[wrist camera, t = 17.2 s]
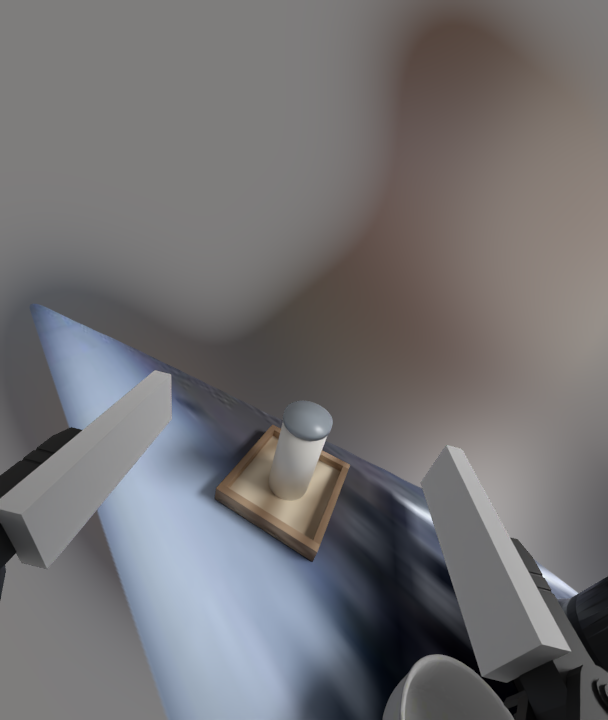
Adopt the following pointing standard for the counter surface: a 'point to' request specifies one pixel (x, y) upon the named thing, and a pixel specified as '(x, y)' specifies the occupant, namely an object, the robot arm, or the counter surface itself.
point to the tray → (277, 516)
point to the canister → (298, 448)
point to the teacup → (444, 693)
